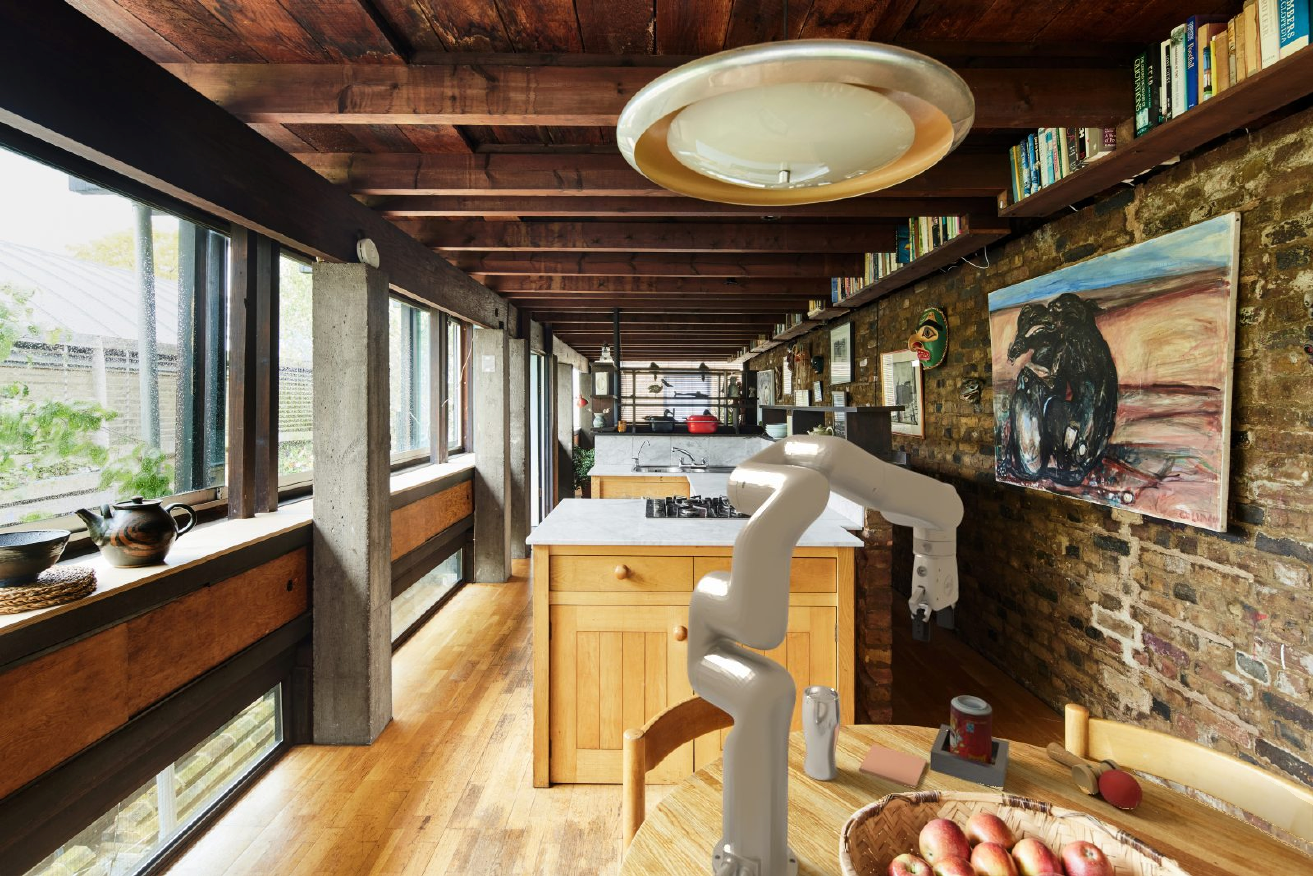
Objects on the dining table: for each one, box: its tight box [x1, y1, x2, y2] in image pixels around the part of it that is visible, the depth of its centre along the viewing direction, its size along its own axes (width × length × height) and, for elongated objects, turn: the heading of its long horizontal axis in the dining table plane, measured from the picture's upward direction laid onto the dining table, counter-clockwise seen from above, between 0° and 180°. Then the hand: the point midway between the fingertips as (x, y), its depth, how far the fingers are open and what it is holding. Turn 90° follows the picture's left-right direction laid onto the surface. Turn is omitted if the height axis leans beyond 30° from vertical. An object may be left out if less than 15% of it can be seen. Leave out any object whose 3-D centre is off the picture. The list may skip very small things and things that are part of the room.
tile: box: [858, 743, 928, 787], centre depth 117 cm, size 10×10×1 cm
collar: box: [929, 723, 1010, 788], centre depth 117 cm, size 12×12×4 cm
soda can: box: [949, 694, 993, 764], centre depth 117 cm, size 7×7×12 cm
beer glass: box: [801, 684, 842, 782], centre depth 115 cm, size 7×7×15 cm
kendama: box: [1046, 741, 1143, 810], centre depth 111 cm, size 8×6×18 cm
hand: (933, 633), depth 120 cm, fingers open, 9 cm apart
